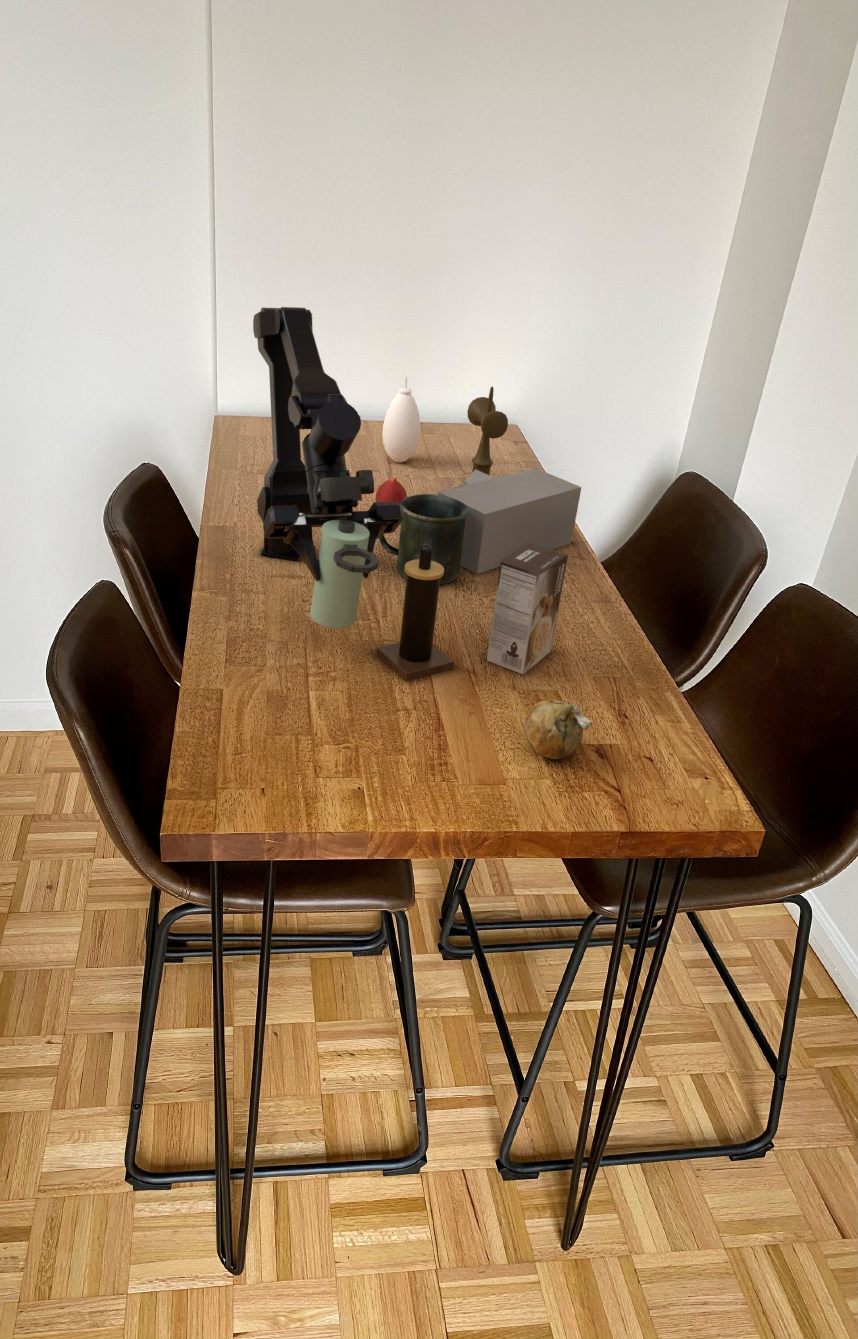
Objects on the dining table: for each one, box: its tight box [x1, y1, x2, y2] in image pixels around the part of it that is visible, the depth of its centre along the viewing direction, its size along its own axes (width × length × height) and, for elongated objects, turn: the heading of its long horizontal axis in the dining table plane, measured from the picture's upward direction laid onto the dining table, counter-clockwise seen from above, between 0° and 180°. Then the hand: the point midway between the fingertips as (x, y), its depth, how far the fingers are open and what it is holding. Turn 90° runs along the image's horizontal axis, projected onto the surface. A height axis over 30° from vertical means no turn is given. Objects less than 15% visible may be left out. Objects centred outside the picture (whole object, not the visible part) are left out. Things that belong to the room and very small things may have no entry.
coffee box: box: [486, 543, 569, 675], centre depth 150 cm, size 9×6×16 cm
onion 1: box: [375, 475, 408, 505], centre depth 193 cm, size 6×6×8 cm
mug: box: [378, 493, 469, 586], centre depth 172 cm, size 11×15×12 cm
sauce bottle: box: [382, 375, 421, 464], centre depth 217 cm, size 8×8×18 cm
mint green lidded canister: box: [309, 520, 380, 629], centre depth 141 cm, size 13×6×14 cm, turn 16°
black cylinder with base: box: [375, 545, 455, 682], centre depth 145 cm, size 8×8×18 cm
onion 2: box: [524, 700, 594, 760], centre depth 132 cm, size 8×8×8 cm
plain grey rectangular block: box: [437, 467, 582, 575], centre depth 189 cm, size 25×23×11 cm
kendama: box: [466, 386, 509, 478], centre depth 210 cm, size 6×10×20 cm, turn 15°
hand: (342, 578), depth 143 cm, fingers closed on mint green lidded canister, 6 cm apart
